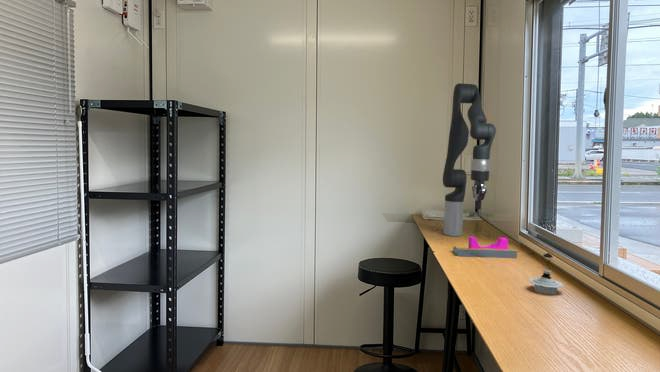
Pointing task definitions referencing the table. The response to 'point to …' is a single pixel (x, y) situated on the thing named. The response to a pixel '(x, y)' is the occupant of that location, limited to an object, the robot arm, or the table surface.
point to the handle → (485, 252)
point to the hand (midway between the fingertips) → (477, 209)
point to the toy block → (500, 244)
